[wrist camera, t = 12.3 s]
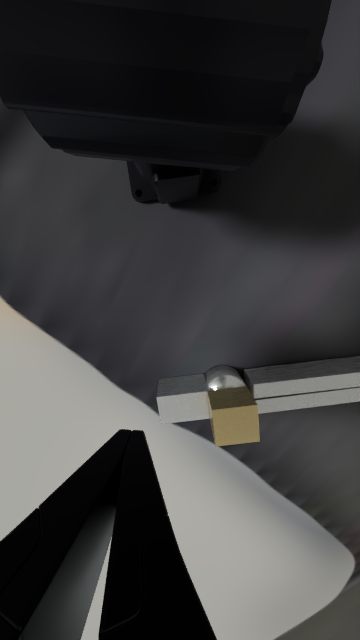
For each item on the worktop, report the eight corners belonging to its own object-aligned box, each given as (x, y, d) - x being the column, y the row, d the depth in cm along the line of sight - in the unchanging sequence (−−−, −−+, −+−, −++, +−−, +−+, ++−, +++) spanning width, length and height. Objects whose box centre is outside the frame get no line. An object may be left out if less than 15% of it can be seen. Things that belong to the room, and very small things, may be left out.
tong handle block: (164, 408, 21) (162, 430, 18) (158, 372, 21) (155, 390, 18) (242, 398, 21) (253, 420, 18) (240, 362, 20) (250, 378, 17)
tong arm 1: (244, 381, 20) (254, 398, 18) (243, 362, 20) (253, 377, 17) (426, 360, 20) (463, 374, 18) (428, 341, 20) (467, 352, 17)
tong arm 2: (245, 401, 21) (255, 420, 18) (244, 383, 21) (254, 400, 18) (423, 379, 21) (459, 395, 18) (426, 360, 20) (463, 374, 18)
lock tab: (210, 423, 18) (215, 446, 16) (207, 390, 17) (211, 410, 15) (248, 418, 18) (259, 441, 16) (246, 386, 17) (257, 404, 15)
